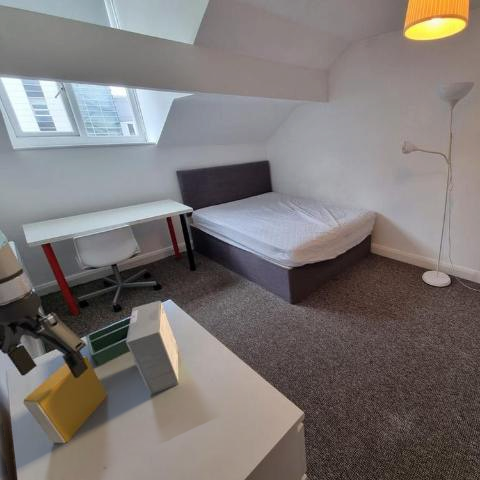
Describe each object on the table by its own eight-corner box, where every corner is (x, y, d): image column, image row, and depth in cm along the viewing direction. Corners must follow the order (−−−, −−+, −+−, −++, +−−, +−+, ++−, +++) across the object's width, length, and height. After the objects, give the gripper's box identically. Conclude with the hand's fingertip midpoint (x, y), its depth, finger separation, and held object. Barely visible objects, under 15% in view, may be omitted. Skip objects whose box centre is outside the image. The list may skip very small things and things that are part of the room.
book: (52, 443, 64) (21, 401, 58) (96, 394, 75) (74, 355, 69) (65, 444, 63) (35, 402, 57) (107, 395, 75) (86, 356, 69)
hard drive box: (152, 357, 87) (132, 307, 78) (178, 348, 90) (161, 299, 82) (149, 396, 74) (125, 342, 66) (179, 384, 77) (160, 331, 69)
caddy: (91, 346, 92) (85, 335, 90) (144, 322, 102) (140, 312, 100) (96, 367, 84) (91, 356, 82) (154, 338, 94) (150, 328, 92)
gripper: (81, 286, 56) (116, 360, 65) (-23, 285, 59) (25, 356, 67) (44, 310, 49) (89, 388, 58) (-71, 307, 52) (-11, 383, 60)
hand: (55, 371), depth 63 cm, fingers open, 13 cm apart
